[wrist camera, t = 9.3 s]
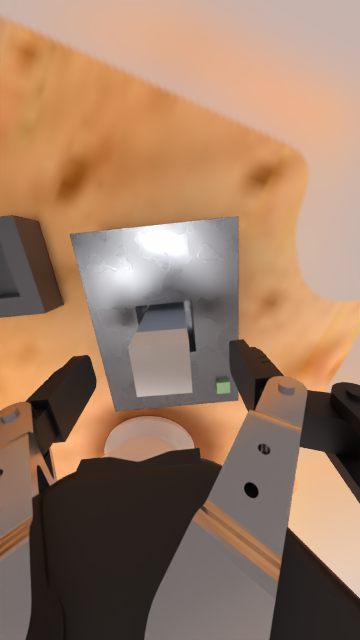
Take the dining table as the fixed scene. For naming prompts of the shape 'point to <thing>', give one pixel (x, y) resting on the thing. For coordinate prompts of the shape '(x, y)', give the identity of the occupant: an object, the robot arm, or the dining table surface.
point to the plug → (161, 352)
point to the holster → (25, 270)
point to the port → (164, 300)
